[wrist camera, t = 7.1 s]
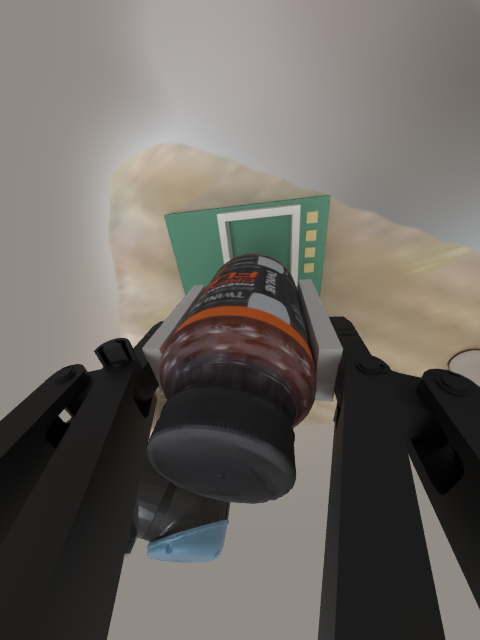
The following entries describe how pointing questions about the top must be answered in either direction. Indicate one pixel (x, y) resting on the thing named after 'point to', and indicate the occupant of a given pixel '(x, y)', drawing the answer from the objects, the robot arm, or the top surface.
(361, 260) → the top surface
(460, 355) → the drinking glass
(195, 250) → the board
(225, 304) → the supplement bottle
